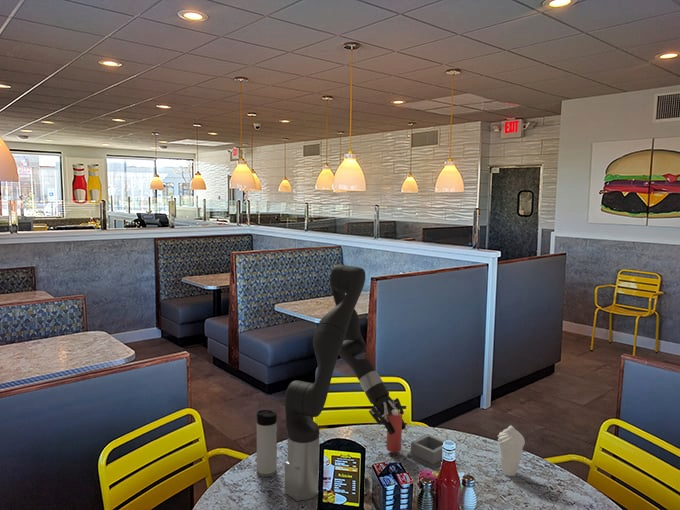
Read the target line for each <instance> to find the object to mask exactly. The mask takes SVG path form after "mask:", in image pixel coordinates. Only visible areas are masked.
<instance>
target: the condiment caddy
mask: <svg viewBox="0 0 680 510" xmlns="http://www.w3.org/2000/svg"><path fill="white" fill-rule="evenodd" d="M444 441H445V440H443V439H440V438H438V437H436V436H434V435H431V434H429V433H427V434H425V435H423V436H420V437H419V438H417V439H415V440H413V441H411V442H410V452H408V453H407V456H406V457H408V458H410V459H412V460H414V461H416V462H418V463H420V464H422V465H425V466H427V467H429V468H430V469H433V470H435V469H437V468H439V467H440V466H442V465H441V462H442V445H443V442H444Z"/></svg>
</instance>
